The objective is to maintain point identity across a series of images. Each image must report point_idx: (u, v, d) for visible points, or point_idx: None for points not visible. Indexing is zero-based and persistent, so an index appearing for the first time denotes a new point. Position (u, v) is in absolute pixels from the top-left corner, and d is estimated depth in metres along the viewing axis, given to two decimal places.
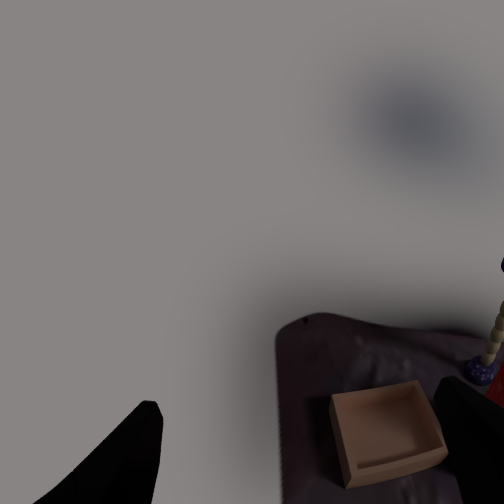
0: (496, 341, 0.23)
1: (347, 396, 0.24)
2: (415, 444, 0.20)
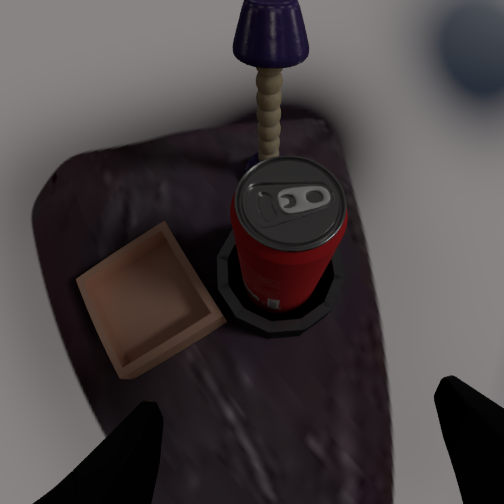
0: (268, 139, 0.23)
1: (89, 276, 0.22)
2: (186, 305, 0.23)
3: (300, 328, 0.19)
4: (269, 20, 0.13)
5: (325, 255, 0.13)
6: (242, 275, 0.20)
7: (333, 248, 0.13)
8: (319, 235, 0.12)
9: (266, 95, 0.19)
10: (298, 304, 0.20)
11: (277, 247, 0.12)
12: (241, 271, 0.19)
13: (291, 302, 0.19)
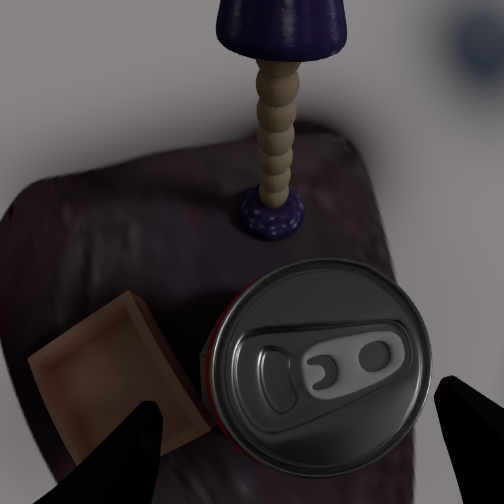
0: (274, 173, 0.15)
1: (42, 357, 0.15)
2: (164, 402, 0.16)
3: None
4: None
5: None
6: None
7: None
8: (378, 443, 0.05)
9: (273, 107, 0.12)
10: None
11: (296, 473, 0.05)
12: None
13: None
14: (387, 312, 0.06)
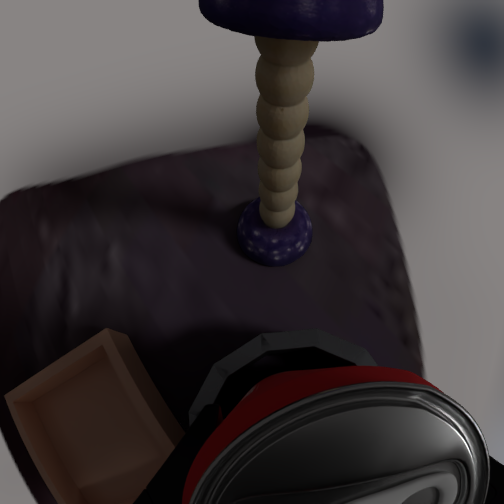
0: (278, 190, 0.12)
1: (18, 396, 0.12)
2: (152, 450, 0.13)
3: None
4: None
5: None
6: None
7: None
8: None
9: (278, 107, 0.09)
10: None
11: None
12: None
13: None
14: (446, 451, 0.03)
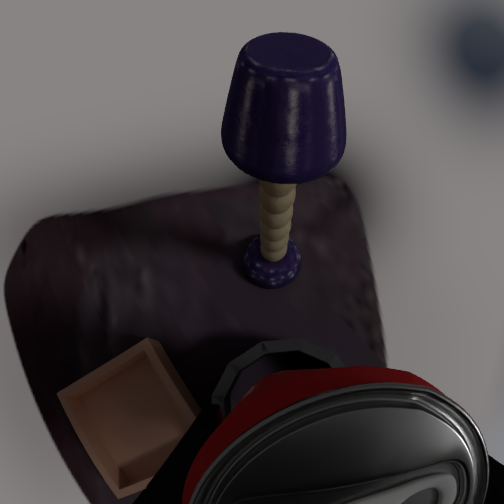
0: (274, 241, 0.18)
1: (70, 392, 0.17)
2: (180, 428, 0.18)
3: None
4: (286, 107, 0.08)
5: None
6: None
7: None
8: None
9: (274, 198, 0.14)
10: None
11: None
12: None
13: None
14: (446, 452, 0.03)
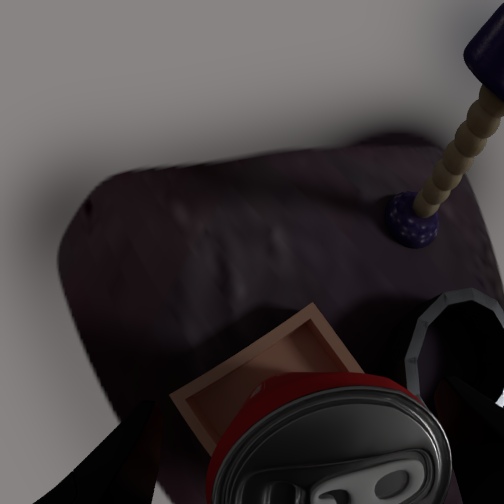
0: (447, 189, 0.15)
1: (195, 391, 0.14)
2: None
3: None
4: None
5: None
6: None
7: None
8: None
9: (480, 138, 0.11)
10: None
11: None
12: None
13: None
14: (413, 442, 0.04)
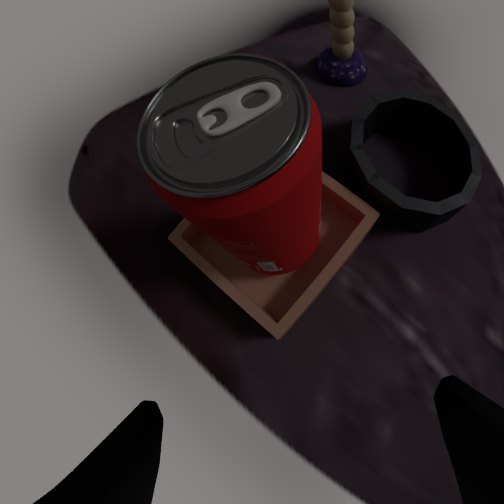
0: (346, 25, 0.16)
1: (186, 226, 0.18)
2: (322, 221, 0.18)
3: (465, 202, 0.14)
4: None
5: (298, 183, 0.07)
6: None
7: (308, 168, 0.07)
8: (273, 152, 0.07)
9: None
10: (304, 257, 0.15)
11: (207, 193, 0.07)
12: None
13: (290, 259, 0.14)
14: (257, 71, 0.07)
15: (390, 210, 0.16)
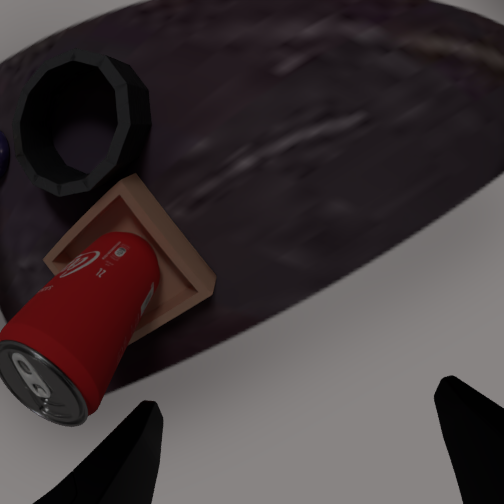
0: None
1: None
2: (122, 221, 0.19)
3: (125, 88, 0.13)
4: None
5: (76, 357, 0.09)
6: None
7: (66, 348, 0.09)
8: (58, 378, 0.09)
9: None
10: (145, 264, 0.17)
11: (85, 410, 0.09)
12: None
13: (142, 287, 0.16)
14: (5, 358, 0.08)
15: (119, 166, 0.16)
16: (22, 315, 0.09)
